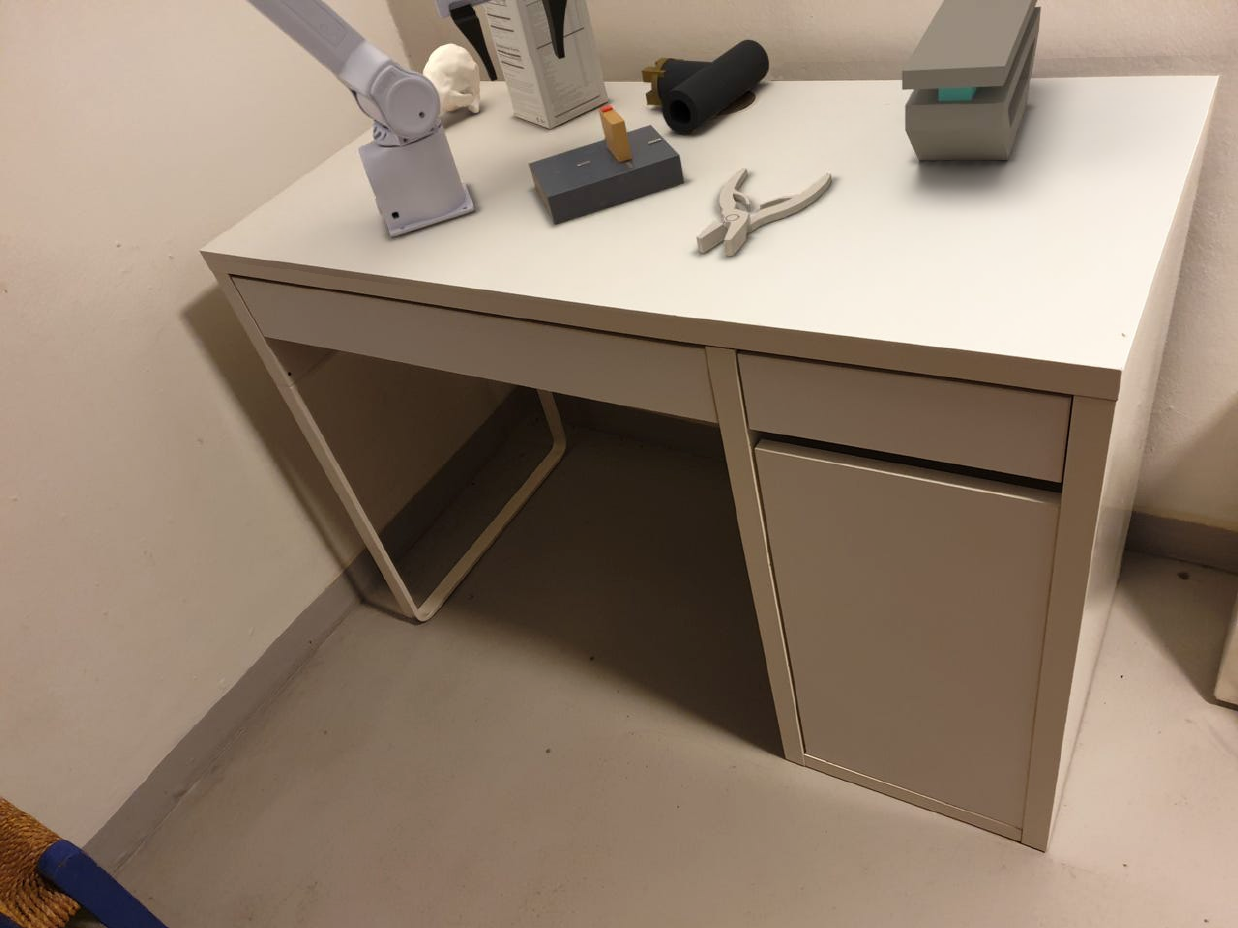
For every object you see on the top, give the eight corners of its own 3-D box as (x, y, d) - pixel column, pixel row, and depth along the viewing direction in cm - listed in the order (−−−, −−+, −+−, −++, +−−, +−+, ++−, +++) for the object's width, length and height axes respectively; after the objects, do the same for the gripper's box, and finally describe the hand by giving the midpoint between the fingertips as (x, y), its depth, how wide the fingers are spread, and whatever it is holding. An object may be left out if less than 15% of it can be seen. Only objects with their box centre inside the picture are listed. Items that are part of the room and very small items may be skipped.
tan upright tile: (632, 159, 92) (623, 118, 89) (619, 163, 92) (610, 122, 89) (619, 143, 96) (610, 103, 93) (606, 147, 96) (598, 107, 93)
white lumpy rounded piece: (472, 38, 118) (410, 83, 112) (496, 100, 123) (438, 146, 118) (440, 37, 121) (378, 81, 116) (464, 98, 127) (406, 142, 121)
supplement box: (572, 90, 121) (539, -49, 110) (611, 101, 115) (580, -44, 104) (512, 117, 118) (472, -23, 107) (549, 130, 111) (510, -17, 101)
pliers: (833, 165, 85) (763, 244, 76) (834, 180, 86) (765, 260, 77) (739, 159, 90) (664, 233, 81) (741, 174, 91) (667, 249, 82)
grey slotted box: (955, 84, 97) (959, -27, 90) (1035, 81, 93) (1045, -35, 86) (902, 194, 81) (902, 71, 74) (995, 195, 78) (1004, 66, 71)
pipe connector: (612, 83, 103) (686, 35, 111) (621, 129, 107) (691, 79, 114) (695, 90, 97) (767, 39, 105) (701, 138, 100) (770, 85, 108)
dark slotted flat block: (554, 224, 91) (546, 195, 89) (535, 189, 99) (527, 162, 97) (684, 183, 92) (679, 153, 90) (655, 151, 100) (650, 123, 98)
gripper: (548, -100, 93) (581, 38, 101) (414, -57, 92) (458, 78, 100) (563, -91, 87) (596, 53, 96) (420, -46, 86) (467, 95, 95)
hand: (526, 67), depth 98 cm, fingers open, 7 cm apart
